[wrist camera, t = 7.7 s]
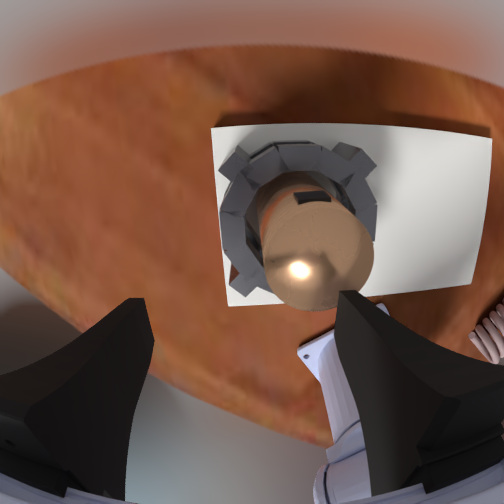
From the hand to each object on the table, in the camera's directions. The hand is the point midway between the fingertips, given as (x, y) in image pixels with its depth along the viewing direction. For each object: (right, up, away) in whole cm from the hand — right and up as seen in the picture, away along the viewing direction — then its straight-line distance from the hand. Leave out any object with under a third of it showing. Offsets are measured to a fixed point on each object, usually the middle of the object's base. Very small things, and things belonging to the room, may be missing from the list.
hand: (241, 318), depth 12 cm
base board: (+8, +5, +9) cm, 13 cm away
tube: (+3, +6, +8) cm, 10 cm away
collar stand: (+3, +6, +9) cm, 11 cm away
